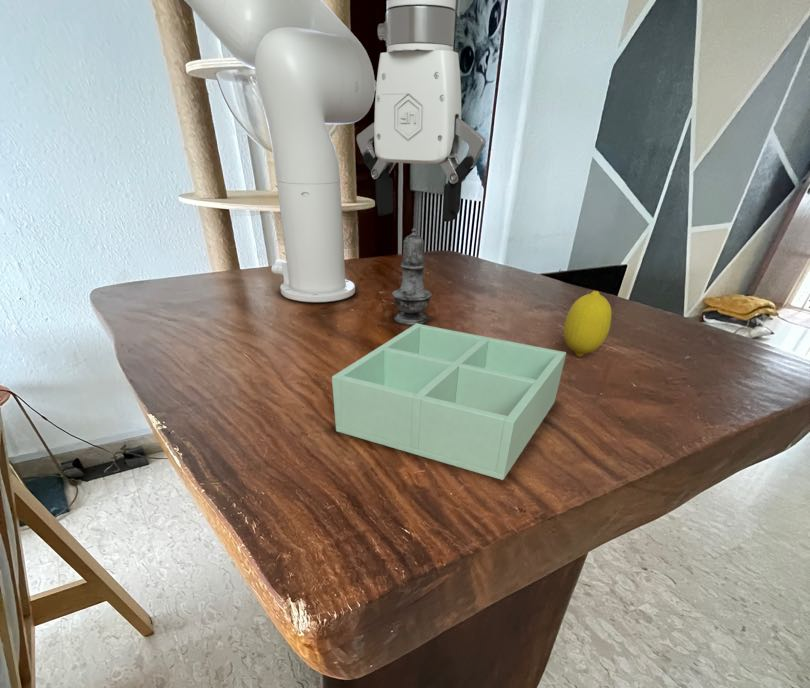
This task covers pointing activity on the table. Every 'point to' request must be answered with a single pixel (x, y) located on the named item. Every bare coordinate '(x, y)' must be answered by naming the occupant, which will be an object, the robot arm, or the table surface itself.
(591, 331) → the lemon
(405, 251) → the salt shaker
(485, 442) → the box
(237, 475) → the table surface
